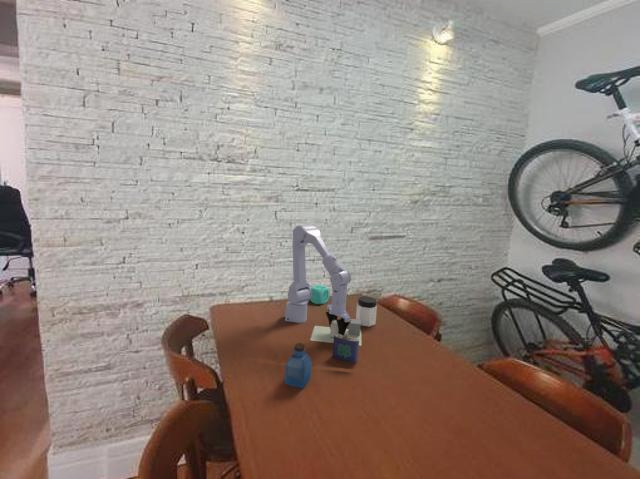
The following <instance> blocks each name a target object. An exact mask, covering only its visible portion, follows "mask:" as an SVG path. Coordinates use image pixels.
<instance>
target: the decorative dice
mask: <svg viewBox="0 0 640 479" xmlns="http://www.w3.org/2000/svg"><path fill="white" fill-rule="evenodd" d="M310 290H311V293H312V296H311V298H310V299H309V300H310V301H311V302H312V304H315V305H325V304H327V303H328V301H329V299H330V294H331V293H330V290H329V287H327V286H325V285H322V284H321V285H320V284H317V285H313V286H312V287H310Z"/></svg>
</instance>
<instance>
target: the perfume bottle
mask: <svg viewBox="0 0 640 479" xmlns="http://www.w3.org/2000/svg"><path fill="white" fill-rule="evenodd" d="M305 346H306V345H305V344H304V343H301V342H297V343H295V344H294V348H293V353H292V355H291V356H290V358H289V359H288V361H287V362H286V364H285V369H284V370H285V371H284V372H285V373H284V375H285V376H284V385H286V384H288V385H287V386H290V385H291V387H294V386H295V388H298V387H299V389H303V390H304V389H305V388H306V386H307V384H308V383H309V381H310V380H311V378H312V376H311V375H312V359H311V357H310V355H309V354H308V353H305V352H306V349H305Z"/></svg>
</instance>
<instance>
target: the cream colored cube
mask: <svg viewBox="0 0 640 479" xmlns="http://www.w3.org/2000/svg"><path fill="white" fill-rule="evenodd" d="M336 334H338V324H337V321H336V320H332V323H331V328H330V336H332V337H334V335H336Z"/></svg>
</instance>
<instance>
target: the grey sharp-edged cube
mask: <svg viewBox="0 0 640 479" xmlns="http://www.w3.org/2000/svg"><path fill="white" fill-rule="evenodd" d="M350 320H351V322H350V323H349V325H348V329H349V335H358V336H360V330H361V326H362V325H361V322H360V320H358V319H356V318H350Z"/></svg>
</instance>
